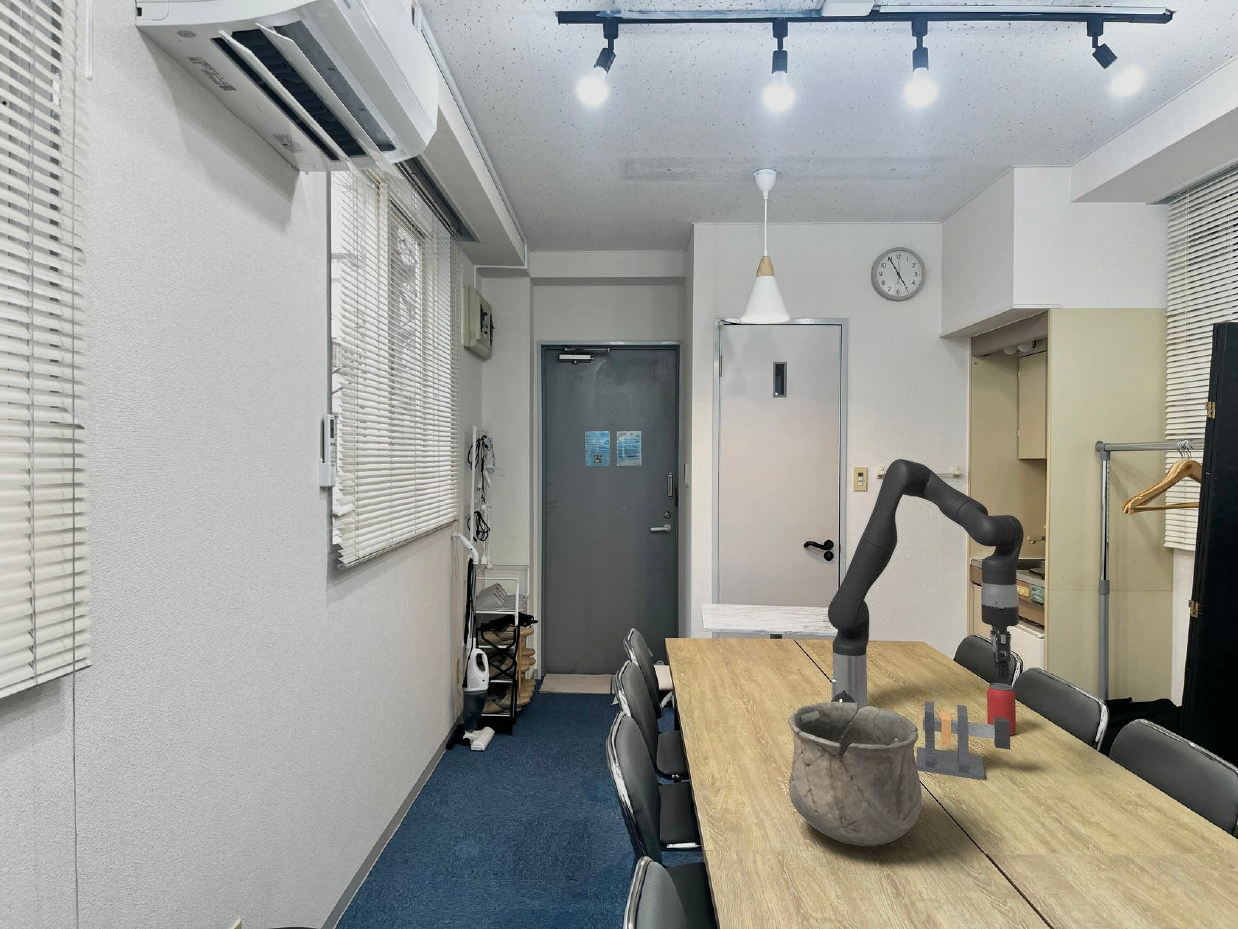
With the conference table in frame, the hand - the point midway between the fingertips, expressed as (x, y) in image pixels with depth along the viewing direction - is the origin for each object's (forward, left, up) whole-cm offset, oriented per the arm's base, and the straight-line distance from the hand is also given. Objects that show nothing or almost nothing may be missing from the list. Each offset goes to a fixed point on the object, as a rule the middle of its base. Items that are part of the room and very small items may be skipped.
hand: (1001, 674), depth 159 cm
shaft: (-8, 0, -16) cm, 18 cm away
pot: (-28, -41, -23) cm, 55 cm away
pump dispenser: (-34, -4, -23) cm, 41 cm away
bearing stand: (-11, 0, -22) cm, 25 cm away
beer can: (+2, +28, -23) cm, 36 cm away
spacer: (-12, 0, -17) cm, 21 cm away
